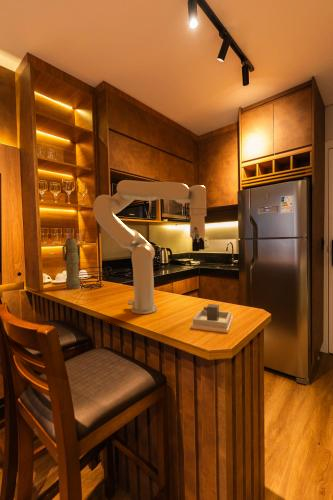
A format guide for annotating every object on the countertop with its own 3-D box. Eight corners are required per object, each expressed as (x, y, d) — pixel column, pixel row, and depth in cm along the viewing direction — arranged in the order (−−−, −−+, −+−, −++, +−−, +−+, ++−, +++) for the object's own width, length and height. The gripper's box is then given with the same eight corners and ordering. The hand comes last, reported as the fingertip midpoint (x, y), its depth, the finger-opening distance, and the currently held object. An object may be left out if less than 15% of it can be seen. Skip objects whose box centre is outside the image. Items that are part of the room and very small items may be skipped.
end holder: (190, 328, 91) (190, 320, 91) (200, 314, 106) (200, 308, 106) (227, 332, 86) (227, 324, 86) (233, 318, 101) (233, 311, 101)
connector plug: (203, 320, 96) (202, 306, 95) (205, 317, 99) (205, 303, 99) (217, 322, 94) (216, 307, 93) (218, 319, 97) (218, 304, 97)
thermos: (84, 287, 170) (82, 237, 168) (69, 290, 161) (66, 238, 158) (77, 285, 175) (74, 238, 173) (62, 288, 166) (59, 238, 163)
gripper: (195, 214, 119) (195, 249, 120) (184, 212, 103) (185, 251, 104) (210, 214, 116) (210, 249, 117) (201, 211, 100) (202, 251, 101)
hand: (198, 250), depth 111 cm, fingers open, 9 cm apart
